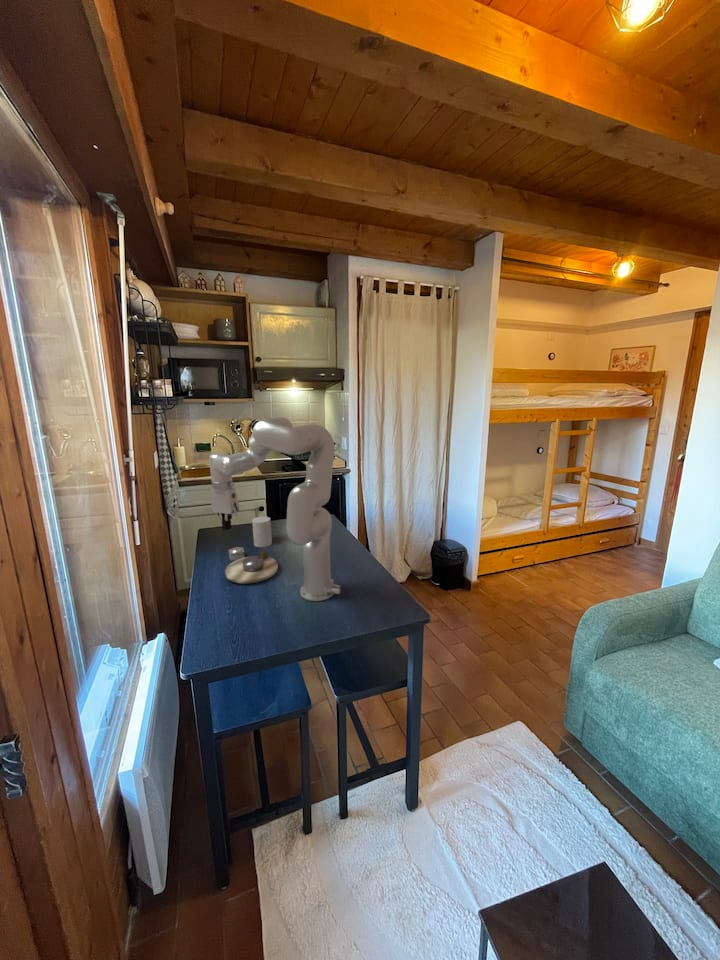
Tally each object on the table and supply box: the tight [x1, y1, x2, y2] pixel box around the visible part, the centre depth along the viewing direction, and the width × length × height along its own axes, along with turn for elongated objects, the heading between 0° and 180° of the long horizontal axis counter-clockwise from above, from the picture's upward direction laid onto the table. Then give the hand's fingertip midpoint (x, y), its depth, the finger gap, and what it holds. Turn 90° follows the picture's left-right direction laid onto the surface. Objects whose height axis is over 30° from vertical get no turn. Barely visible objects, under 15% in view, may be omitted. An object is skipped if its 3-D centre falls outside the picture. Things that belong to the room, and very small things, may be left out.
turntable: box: [224, 549, 279, 584], centre depth 150 cm, size 20×20×4 cm
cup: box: [251, 515, 273, 548], centre depth 176 cm, size 8×8×12 cm
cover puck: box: [242, 555, 264, 572], centre depth 149 cm, size 8×8×3 cm
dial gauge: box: [228, 546, 246, 562], centre depth 164 cm, size 6×5×4 cm
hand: (227, 529), depth 151 cm, fingers closed
